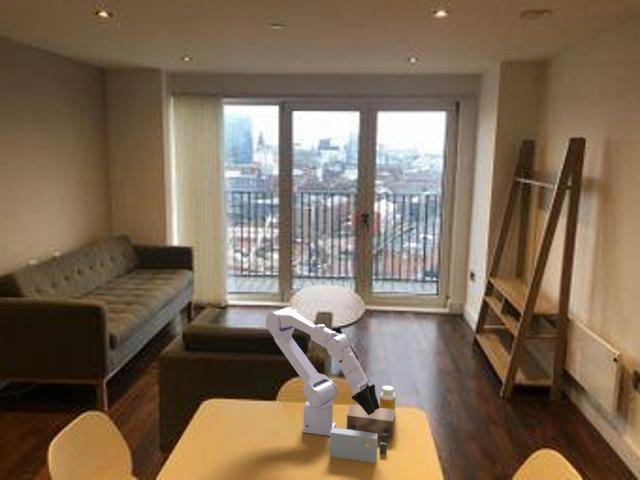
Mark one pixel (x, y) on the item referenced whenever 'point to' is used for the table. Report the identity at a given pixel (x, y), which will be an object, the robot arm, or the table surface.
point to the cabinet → (373, 423)
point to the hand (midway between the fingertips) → (374, 411)
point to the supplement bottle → (387, 397)
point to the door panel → (353, 445)
